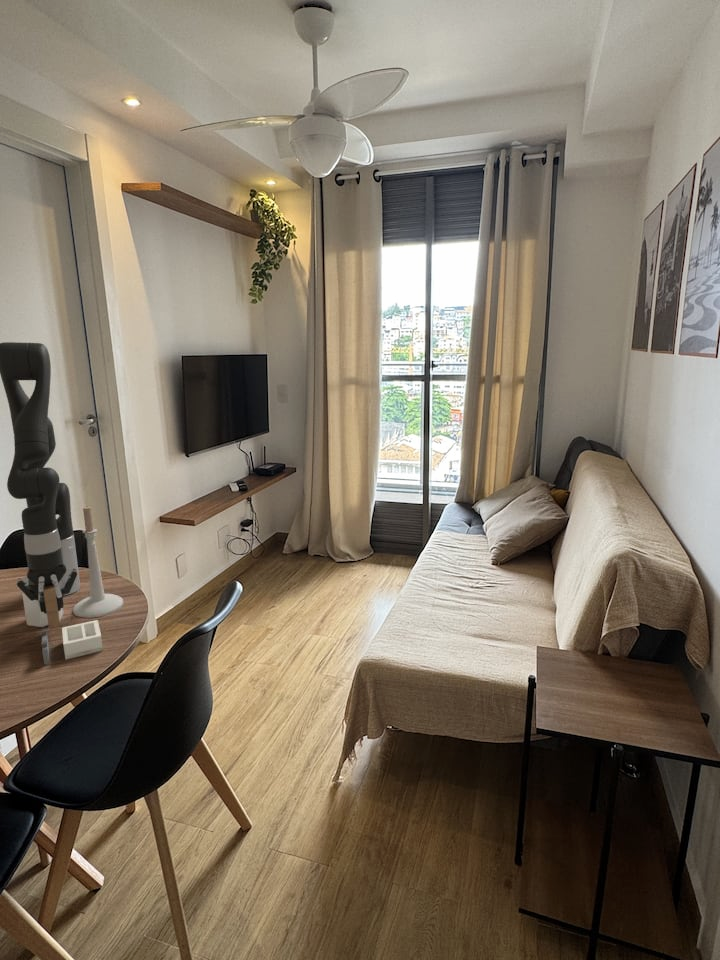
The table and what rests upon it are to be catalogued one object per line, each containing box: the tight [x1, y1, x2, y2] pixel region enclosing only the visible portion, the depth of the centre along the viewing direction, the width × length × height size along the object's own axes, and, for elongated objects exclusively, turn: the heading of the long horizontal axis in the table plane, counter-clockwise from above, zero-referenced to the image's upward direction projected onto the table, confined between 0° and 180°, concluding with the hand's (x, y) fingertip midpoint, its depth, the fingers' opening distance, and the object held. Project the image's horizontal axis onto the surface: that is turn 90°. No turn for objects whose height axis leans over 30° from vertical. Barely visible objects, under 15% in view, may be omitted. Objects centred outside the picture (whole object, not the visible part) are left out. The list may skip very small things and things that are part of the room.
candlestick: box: [72, 506, 124, 619], centre depth 147 cm, size 13×13×30 cm
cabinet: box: [40, 619, 104, 666], centre depth 129 cm, size 9×12×5 cm
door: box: [40, 585, 61, 629], centre depth 134 cm, size 8×3×10 cm, turn 30°
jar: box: [21, 580, 64, 628], centre depth 142 cm, size 9×8×12 cm
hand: (52, 610), depth 135 cm, fingers closed on door, 2 cm apart
